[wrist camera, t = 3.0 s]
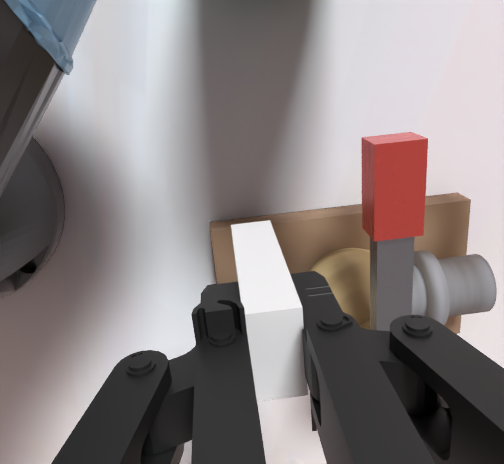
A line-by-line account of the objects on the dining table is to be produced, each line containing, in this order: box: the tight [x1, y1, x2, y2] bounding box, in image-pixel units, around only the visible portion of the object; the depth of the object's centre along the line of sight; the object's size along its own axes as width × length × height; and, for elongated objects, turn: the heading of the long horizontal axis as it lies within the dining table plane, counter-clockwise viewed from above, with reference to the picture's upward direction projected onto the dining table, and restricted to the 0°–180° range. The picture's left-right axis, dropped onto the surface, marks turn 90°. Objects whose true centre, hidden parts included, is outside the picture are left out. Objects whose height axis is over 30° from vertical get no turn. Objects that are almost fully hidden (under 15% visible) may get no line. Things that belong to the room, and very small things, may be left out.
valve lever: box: [362, 132, 428, 331], centre depth 26 cm, size 15×3×2 cm, turn 5°
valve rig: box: [210, 193, 496, 334], centre depth 34 cm, size 20×12×10 cm, turn 96°
